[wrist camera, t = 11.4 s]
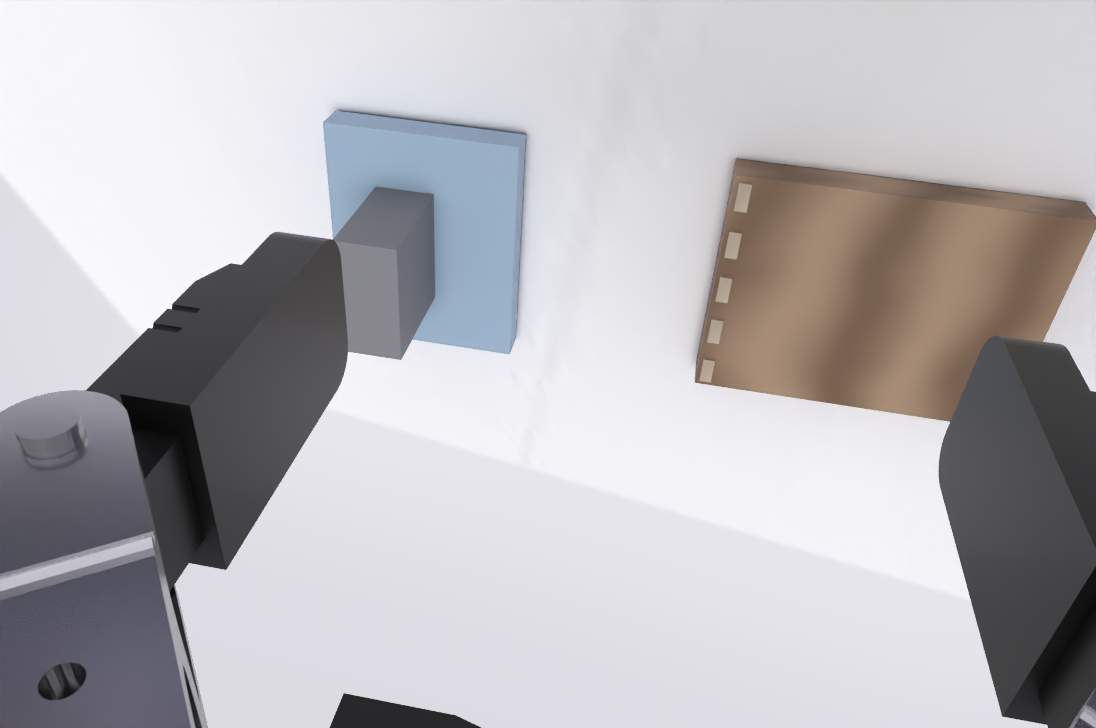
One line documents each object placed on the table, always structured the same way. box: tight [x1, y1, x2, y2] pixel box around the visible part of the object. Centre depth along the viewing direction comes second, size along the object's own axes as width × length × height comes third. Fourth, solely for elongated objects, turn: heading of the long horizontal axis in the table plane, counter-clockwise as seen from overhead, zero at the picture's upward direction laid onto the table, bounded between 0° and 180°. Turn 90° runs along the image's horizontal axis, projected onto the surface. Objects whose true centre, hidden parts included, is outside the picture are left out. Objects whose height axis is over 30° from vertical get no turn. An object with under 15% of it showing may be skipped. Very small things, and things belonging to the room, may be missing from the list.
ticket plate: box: [695, 159, 1096, 421], centre depth 44 cm, size 16×12×2 cm
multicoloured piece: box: [323, 111, 526, 360], centre depth 44 cm, size 10×12×8 cm
